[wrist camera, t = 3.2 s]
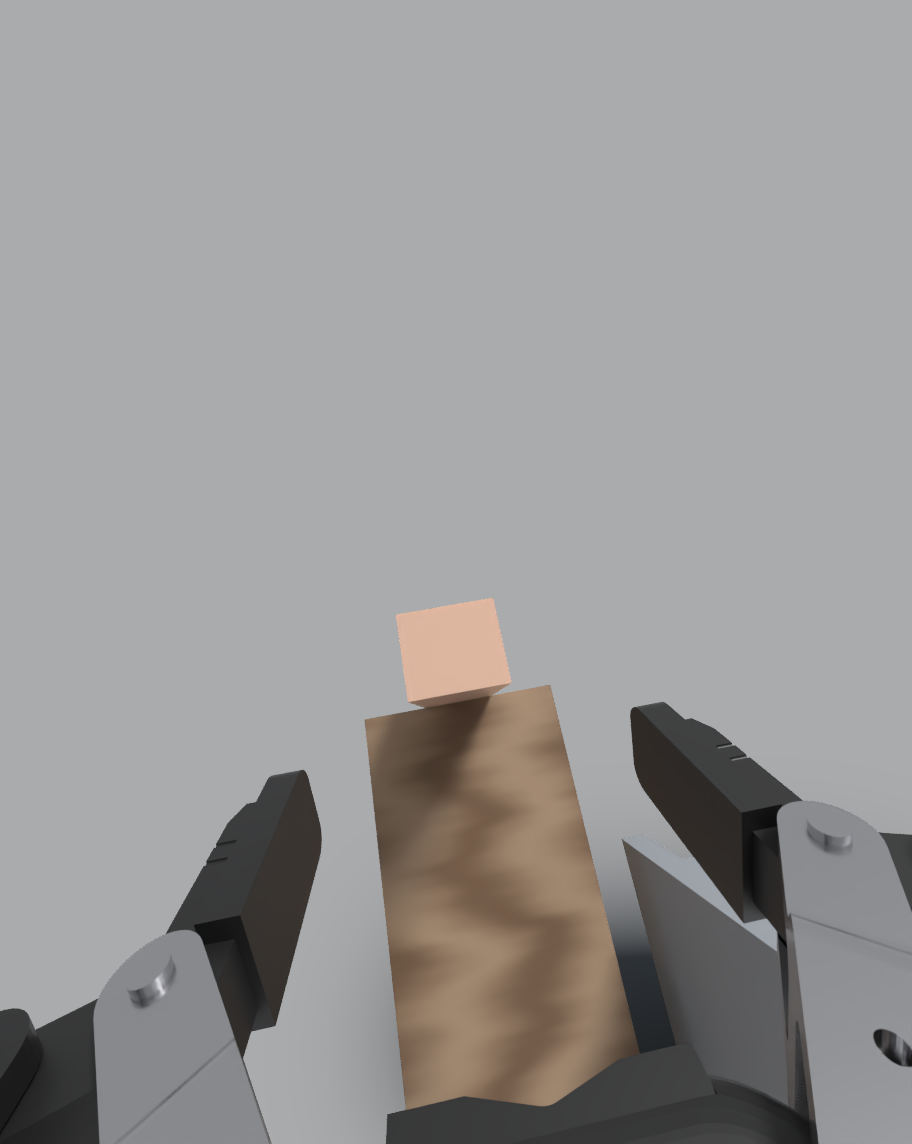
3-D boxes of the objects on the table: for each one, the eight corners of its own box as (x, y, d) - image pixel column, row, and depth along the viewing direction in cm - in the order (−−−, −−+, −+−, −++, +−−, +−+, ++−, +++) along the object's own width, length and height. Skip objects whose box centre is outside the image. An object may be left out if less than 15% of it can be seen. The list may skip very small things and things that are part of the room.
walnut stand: (486, 1868, 12) (364, 719, 23) (472, 1321, 24) (395, 719, 34) (810, 1756, 13) (549, 684, 23) (645, 1273, 24) (519, 695, 35)
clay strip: (408, 701, 14) (395, 614, 15) (437, 712, 37) (431, 676, 38) (511, 682, 14) (493, 597, 15) (477, 704, 37) (470, 669, 38)
